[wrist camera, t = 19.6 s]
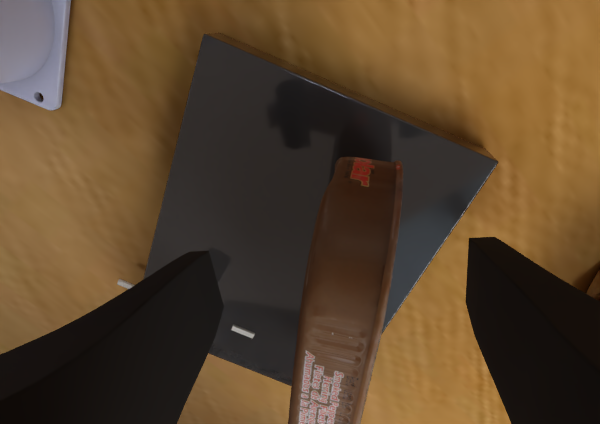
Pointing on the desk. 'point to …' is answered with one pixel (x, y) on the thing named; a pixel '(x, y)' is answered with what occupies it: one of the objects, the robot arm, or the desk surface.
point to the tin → (346, 291)
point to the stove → (292, 190)
